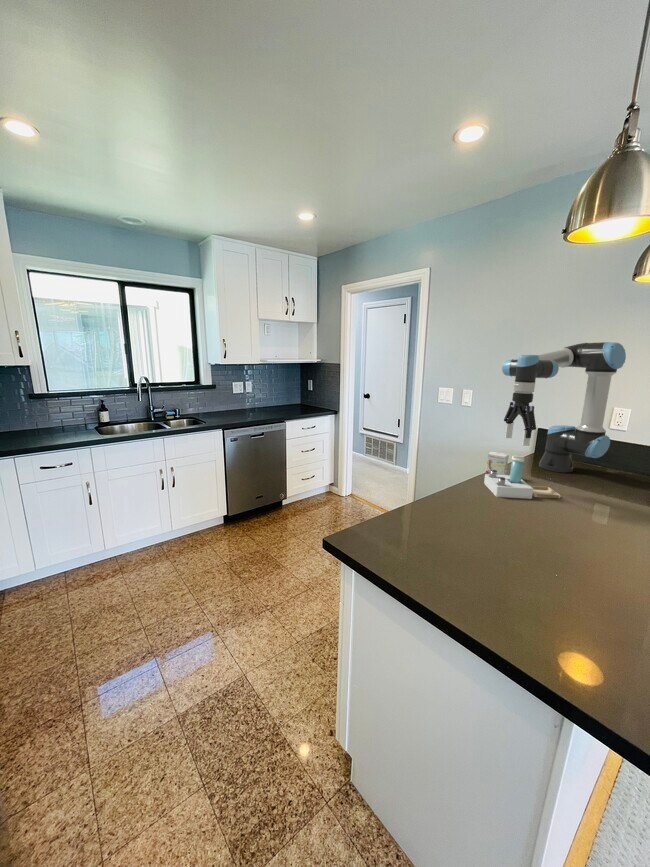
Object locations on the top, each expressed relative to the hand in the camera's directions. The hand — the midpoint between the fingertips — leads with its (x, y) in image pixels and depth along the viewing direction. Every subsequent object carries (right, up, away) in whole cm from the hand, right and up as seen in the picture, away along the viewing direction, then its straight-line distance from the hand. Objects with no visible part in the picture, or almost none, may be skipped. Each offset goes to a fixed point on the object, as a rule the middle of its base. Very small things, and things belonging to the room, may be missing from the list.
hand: (516, 441), depth 151 cm
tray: (+11, -23, 0) cm, 25 cm away
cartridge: (0, -22, +2) cm, 22 cm away
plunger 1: (-7, -18, +7) cm, 21 cm away
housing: (-3, -22, +2) cm, 22 cm away
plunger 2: (-8, -20, -2) cm, 22 cm away
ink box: (+1, -18, +22) cm, 28 cm away
